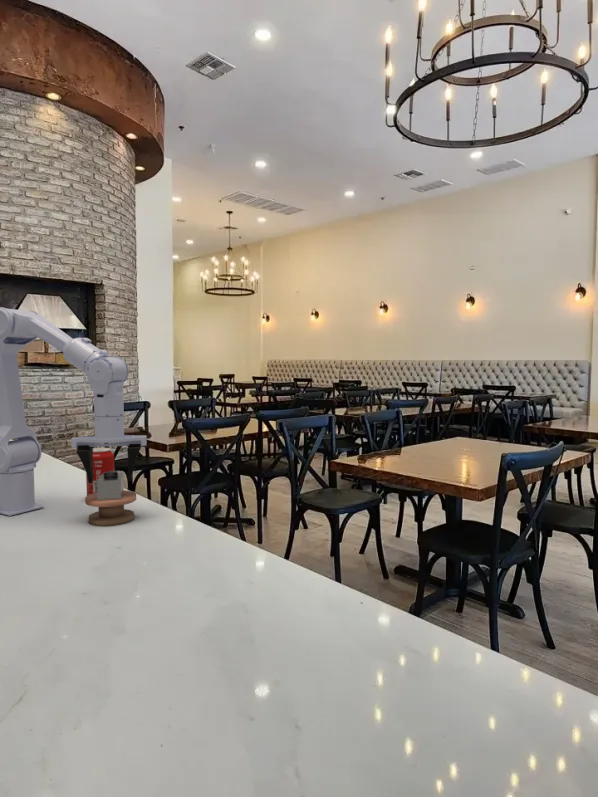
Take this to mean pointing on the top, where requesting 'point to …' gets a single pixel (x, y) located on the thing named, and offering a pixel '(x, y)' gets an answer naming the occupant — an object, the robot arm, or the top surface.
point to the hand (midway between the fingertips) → (110, 481)
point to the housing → (110, 486)
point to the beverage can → (100, 466)
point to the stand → (110, 510)
